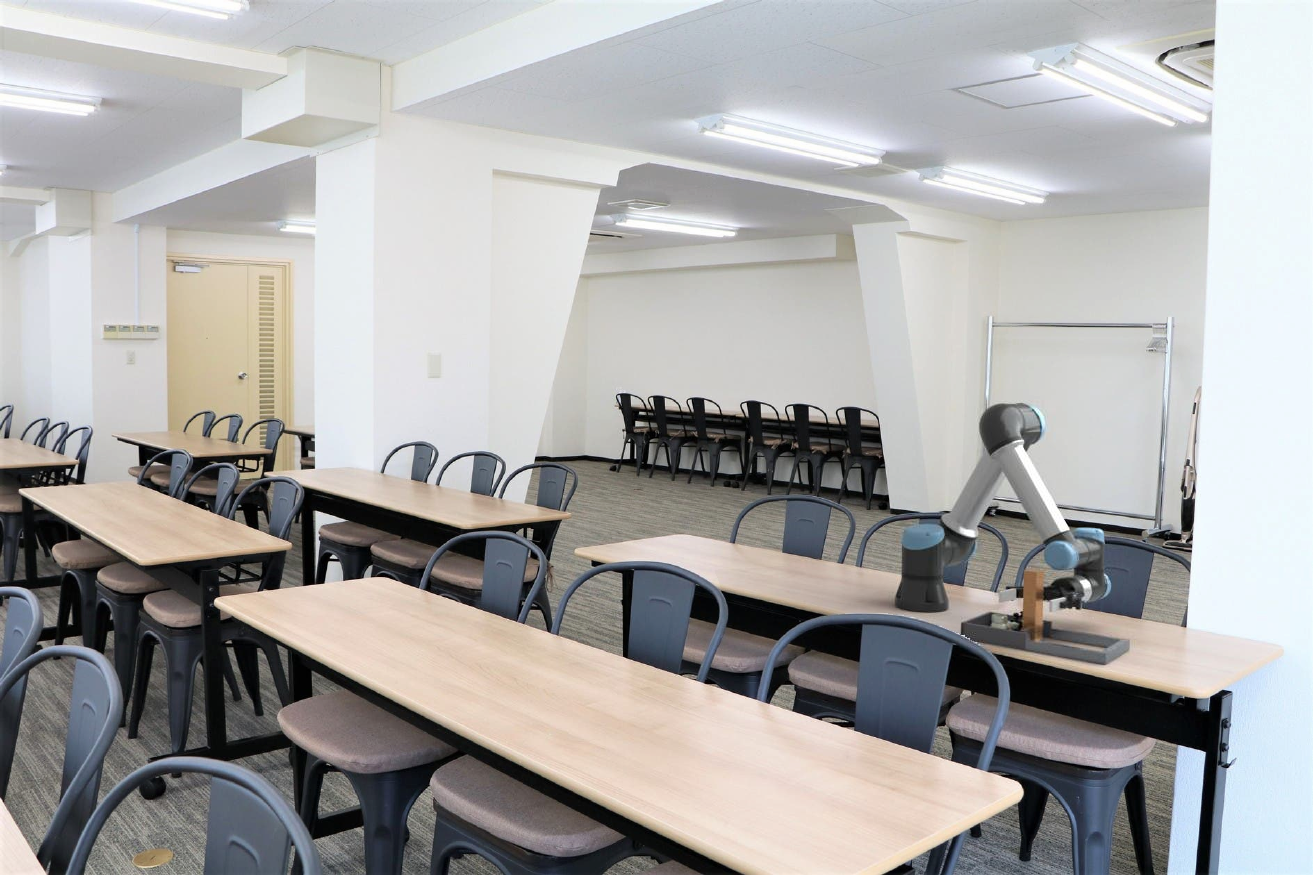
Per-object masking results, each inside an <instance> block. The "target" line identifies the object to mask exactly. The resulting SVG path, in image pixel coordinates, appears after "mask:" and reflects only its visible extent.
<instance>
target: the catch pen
mask: <svg viewBox="0 0 1313 875" xmlns="http://www.w3.org/2000/svg"><path fill="white" fill-rule="evenodd" d="M993 614H1003V615H1006V616H1007V617H1008V621H1011V620H1013V619H1014V618H1016V617H1015V616H1013V614H1007V613H1002V612H1001V613H1000V612H994V611H988V612H985V613H982V614H980V615H978V616H974V617H971V618H970V619H966V620H964V621H962V622H960V636H961V635H965V637H967V638H970V639H971V640H970V641H973V640H974V641H973V642H979V643H984V644H991V645H996V646H1002V647H1006V648H1013V649H1019V650H1023V651H1026V650H1025V646H1026V640H1027V633H1024V632H1018V631H1012V630H1006V629H1000V628H994V627H991V624H992V615H993ZM1019 620H1023V618H1022V617H1020V618H1019V619H1018V621H1019ZM1043 622H1045V623H1044V638H1045V637H1046V638H1050V628H1052V627H1053V621H1051V620H1044V619H1043ZM1020 629H1021V630H1022V628H1020Z"/></svg>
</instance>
